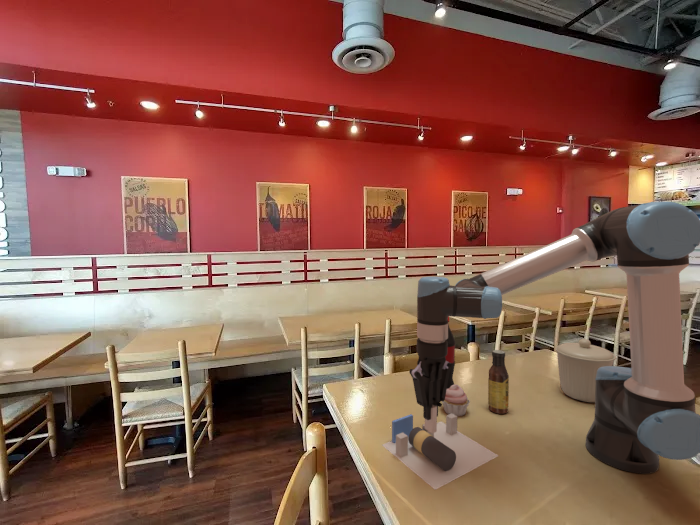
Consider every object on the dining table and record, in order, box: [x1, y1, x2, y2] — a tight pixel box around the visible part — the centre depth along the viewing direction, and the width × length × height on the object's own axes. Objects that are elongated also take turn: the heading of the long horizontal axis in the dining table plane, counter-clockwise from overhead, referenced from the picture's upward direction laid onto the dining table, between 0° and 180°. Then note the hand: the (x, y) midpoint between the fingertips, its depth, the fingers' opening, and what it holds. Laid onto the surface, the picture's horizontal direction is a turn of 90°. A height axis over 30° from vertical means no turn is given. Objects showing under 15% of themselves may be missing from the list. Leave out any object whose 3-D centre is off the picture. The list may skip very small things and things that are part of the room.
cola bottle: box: [440, 316, 456, 395], centre depth 125 cm, size 8×8×30 cm
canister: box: [554, 338, 617, 404], centre depth 123 cm, size 18×18×21 cm
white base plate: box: [381, 413, 500, 491], centre depth 91 cm, size 20×23×7 cm
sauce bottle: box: [487, 349, 510, 415], centre depth 113 cm, size 7×6×20 cm
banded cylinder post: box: [408, 426, 456, 471], centre depth 88 cm, size 12×5×5 cm, turn 31°
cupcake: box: [441, 383, 471, 417], centre depth 111 cm, size 9×9×10 cm
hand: (430, 429), depth 86 cm, fingers closed
